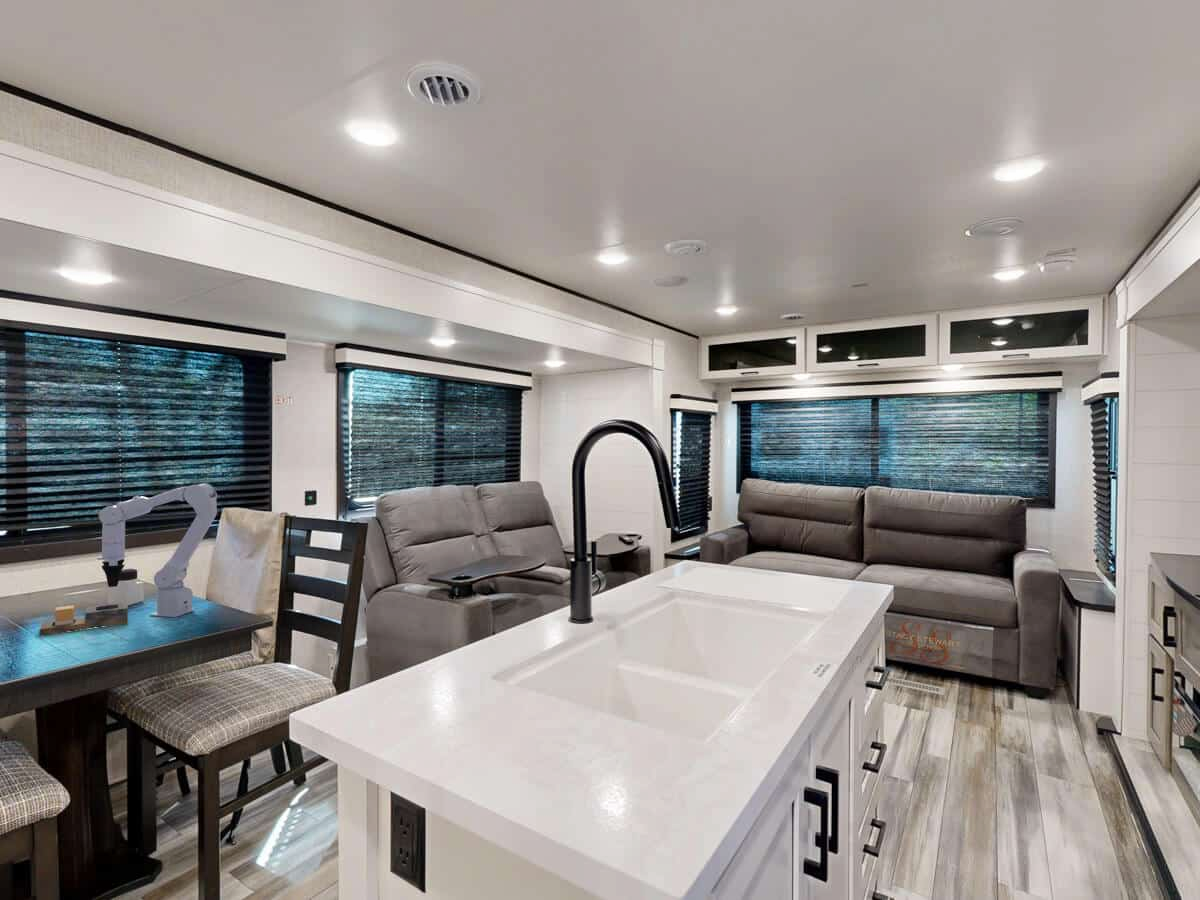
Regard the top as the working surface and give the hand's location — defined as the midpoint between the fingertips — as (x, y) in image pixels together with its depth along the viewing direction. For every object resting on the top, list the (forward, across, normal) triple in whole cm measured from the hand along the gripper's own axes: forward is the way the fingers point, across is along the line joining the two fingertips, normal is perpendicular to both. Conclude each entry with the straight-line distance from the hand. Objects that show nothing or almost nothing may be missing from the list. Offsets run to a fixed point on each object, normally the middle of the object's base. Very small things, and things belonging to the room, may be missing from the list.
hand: (113, 584), depth 194 cm
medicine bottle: (+11, -16, +4) cm, 20 cm away
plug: (+10, +8, -11) cm, 18 cm away
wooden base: (+10, +8, -6) cm, 15 cm away
